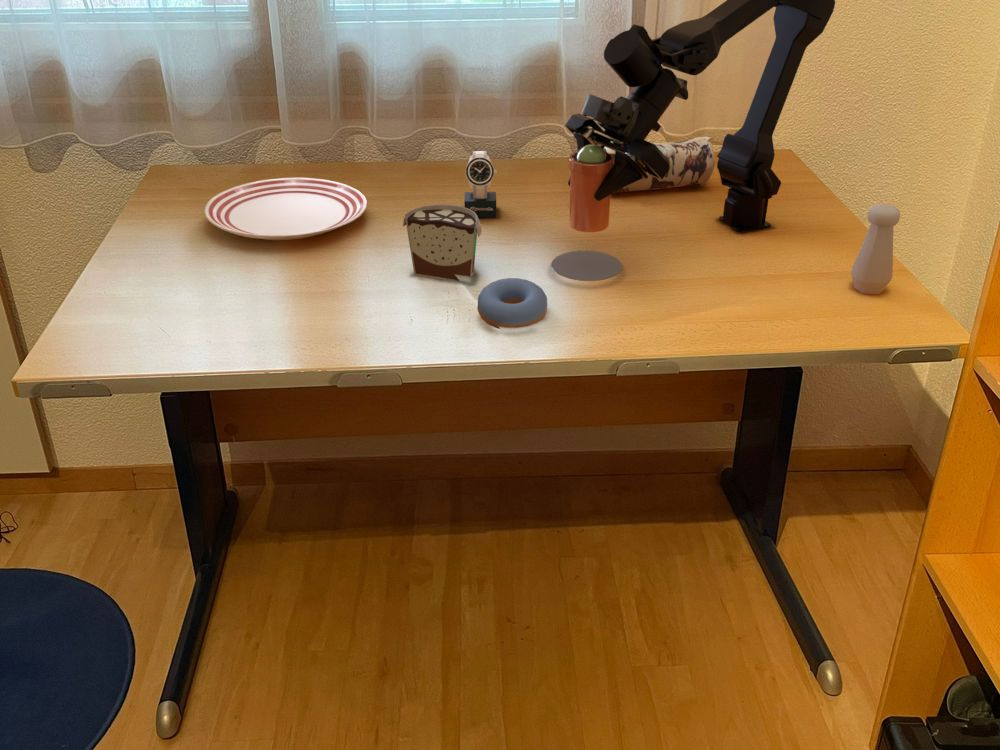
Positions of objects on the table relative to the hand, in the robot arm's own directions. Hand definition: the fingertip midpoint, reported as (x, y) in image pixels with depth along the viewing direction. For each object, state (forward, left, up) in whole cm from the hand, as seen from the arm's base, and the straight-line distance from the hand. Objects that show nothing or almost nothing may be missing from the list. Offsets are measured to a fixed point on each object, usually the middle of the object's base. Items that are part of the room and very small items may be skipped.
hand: (582, 192), depth 145 cm
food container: (+18, -9, -13) cm, 24 cm away
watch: (+5, -29, -13) cm, 32 cm away
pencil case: (-29, -28, -13) cm, 42 cm away
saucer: (-1, 0, -13) cm, 13 cm away
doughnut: (+15, +9, -13) cm, 22 cm away
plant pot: (-1, 0, -5) cm, 6 cm away
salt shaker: (-38, +21, -13) cm, 45 cm away
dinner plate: (+37, -39, -13) cm, 55 cm away
